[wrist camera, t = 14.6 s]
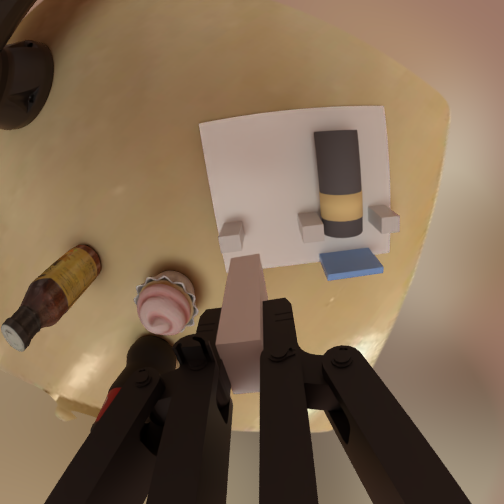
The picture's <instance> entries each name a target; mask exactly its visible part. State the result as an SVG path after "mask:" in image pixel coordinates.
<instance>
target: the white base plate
mask: <svg viewBox="0 0 504 504" xmlns="http://www.w3.org/2000/svg"><path fill="white" fill-rule="evenodd" d="M199 129H200V135H201V141H202V146H203V152H204V158H205V163H206V169H207V175H208V180H209V186H210V191H211V196H212V202H213V207H214V212H215V218H216V223H217V228H218V233H219V236H218V239H219V244H220V249H221V253H223V258H224V263H225V268H226V273H228V271H229V265H230V260H231V258H234V257H240V256H247V255H253V254H260V259H261V264H262V269H264V268H273V267H281V266H289V265H298V264H306V263H314V262H321V265H322V267H323V270H324V272H325V275H326V277H327V280H328V281H329V280H337V279H344V278H351V277H358V276H365V275H372V274H379V273H383V266H382V264H381V263H380V262H379V260H378V259H377V258H376V257H375V255H376V254H383V253H390V233H395V232H399V229H400V216H399V215H398V214H396V213H395V212H394V211H392V210H391V209H390V170H389V153H388V140H387V129H386V119H385V110H384V106H338V107H320V108H306V109H294V110H284V111H275V112H267V113H259V114H252V115H245V116H238V117H232V118H226V119H220V120H215V121H209V122H204V123H199ZM332 130H357V132H358V142H359V154H360V168H361V186H362V201H363V232H362V233H361V234H360V235H358V236H355V237H350V238H333V237H329V236H326V235H324V224H323V222H322V218H321V209H320V196H319V179H318V168H317V158H316V149H315V140H314V132H317V131H332Z"/></svg>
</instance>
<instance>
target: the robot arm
mask: <svg viewBox="0 0 504 504" xmlns="http://www.w3.org/2000/svg"><path fill="white" fill-rule="evenodd" d="M36 1H37V0H0V129H4V130H12V129H19V128H22V127H24V126H26V125H28V124H29V123H30V122H31V121H32V120H33V119H34V118H35V117H36V116H37V115H38V113H39V112H40V110H41V109H42V107H43V105H44V103H45V101H46V99H47V96H48V94H49V91H50V88H51V84H52V79H53V59H52V55H51V52H50V50H49V49H48V47H47V46H46V45H44V44H43V43H41V42H36V41H32V40H26V41H21V42H17V43H13V44H9V45H6V44H7V42H8V40H9V39H10V37H11V36H12V34H13V33H14V31H15V30H16V28H17V27H18V25H19V24H20V22H21V21H22V19H23V18H24V17H25V15H26V14H27V12H28V11H29V10H30V8H31V7H32V6H33V5H34V3H35V2H36ZM5 45H6V46H5ZM196 332H197V333H196V334H192V335H187V336H185V337H183V338H181V339H179V340H178V341H177V342H176V343H175V344H174V346H173V348H172V349H173V351H174V353H175V355H176V357H177V359H178V361H179V363H180V367H179V368H178V369H175V370H173V371H170V372H166V373H163V374H159V372H158V371H157V370H156V369H154V368H152V367H145V368H141V369H138V370H137V371H135V372H133V373H132V374H131V375H130V376H129V378H128V379H127V381H126V382H125V383H124V385H123V386H122V388H121V389H120V391H119V392H118V394H117V395H116V396H115V398H114V399H113V401H112V402H111V404H110V405H109V406H108V408H107V409H106V411H105V412H104V414H103V415H102V417H101V418H100V420H99V421H98V423H97V424H96V425H95V427H94V428H93V430H92V431H91V433H90V434H89V436H88V437H87V439H86V440H85V442H84V443H83V445H82V446H81V448H80V449H79V451H78V452H77V454H76V455H75V457H74V458H73V460H72V461H71V463H70V464H69V466H68V467H67V469H66V471H65V472H64V474H63V475H62V477H61V478H60V480H59V481H58V483H57V484H56V486H55V488H54V489H53V491H52V492H51V494H50V495H49V497H48V498H47V500H46V502H45V503H44V504H143V503H144V501H145V499H146V497H147V495H148V498H147V502H146V504H226V495H227V481H228V466H229V452H230V438H231V425H232V411H233V403H232V399H231V397H230V390H231V388H232V391H233V394H242V393H253V392H260V468H259V471H260V473H259V504H318V496H317V486H316V477H315V468H314V459H313V451H312V442H311V434H310V426H309V418H308V411H307V408H308V409H317V410H324V412H325V414H326V416H327V417H328V419H329V421H330V423H331V425H332V427H333V429H334V431H335V433H336V435H337V436H338V438H339V440H340V442H341V444H342V446H343V448H344V450H345V452H346V454H347V455H348V457H349V459H350V461H351V463H352V465H353V467H354V468H355V471H356V472H357V474H358V476H359V478H360V480H361V482H362V484H363V485H364V487H365V489H366V491H367V493H368V495H369V497H370V499H371V501H372V502H373V504H471V503H470V501H469V499H468V498H467V497H466V495H465V494H464V492H463V491H462V490H461V488H460V486H459V485H458V484H457V482H456V481H455V479H454V478H453V477H452V475H451V474H450V473H449V471H448V470H447V468H446V467H445V465H444V464H443V463H442V461H441V460H440V458H439V457H438V455H437V454H436V453H435V451H434V450H433V449H432V447H431V446H430V445H429V443H428V442H427V440H426V439H425V438H424V436H423V435H422V433H421V432H420V431H419V429H418V428H417V427H416V425H415V424H414V423H413V421H412V420H411V419H410V417H409V416H408V415H407V414H406V412H405V411H404V409H403V408H402V407H401V405H400V404H399V403H398V401H397V400H396V399H395V397H394V396H393V395H392V393H391V392H390V391H389V389H388V388H387V387H386V386H385V384H384V383H383V381H382V380H381V379H380V377H379V376H378V375H377V374H376V372H375V371H374V370H373V368H372V367H371V366H370V364H369V363H368V362H367V360H366V359H365V358H364V357H363V355H362V354H361V353H360V352H359V351H358V350H357V349H356V348H353V347H351V346H342V345H341V346H336V347H333V348H331V349H329V350H327V352H326V353H325V354H324V355H314V354H309V353H307V352H305V351H303V350H302V349H301V348H300V347H299V345H298V343H297V337H296V330H295V324H294V318H293V312H292V306H291V303H290V302H289V301H288V300H287V299H286V298H280V299H274V300H268V295H267V290H266V285H265V280H264V274H263V269H262V264H261V259H260V254H253V255H247V256H240V257H234V258H231V260H230V265H229V271H228V276H227V282H226V287H225V293H224V298H223V304H222V308H215V309H207V310H206V311H205V312H204V313H203V314H202V315H201V316H200V319H199V323H198V327H197V331H196Z"/></svg>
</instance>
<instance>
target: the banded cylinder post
mask: <svg viewBox="0 0 504 504" xmlns="http://www.w3.org/2000/svg"><path fill="white" fill-rule="evenodd" d="M314 140H315V149H316V158H317V168H318V179H319V196H320V209H321V218H322V222H323V224H324V235H326V236H329V237H333V238H350V237H355V236H358V235H360V234H361V233H362V232H363V201H362V186H361V168H360V154H359V142H358V132H357V130H332V131H317V132H314Z"/></svg>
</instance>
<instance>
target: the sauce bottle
mask: <svg viewBox="0 0 504 504" xmlns="http://www.w3.org/2000/svg"><path fill="white" fill-rule="evenodd" d="M100 269H101V264H100V259H99V257H98V255H97V253H96V252H95V251H94V250H93V249H91V248H90V247H88V246H86V245H78V246H76V247H74V248H72V249H70V250H69V251H68V252H67V253H65V254H64V255H63V256H62V257H61V258H59V259H58V260H57V261H56V262H54V263H53V264H52V265H51V266H50V267H49V268H48V269H46V270H45V271H44V272H43V273H42V274H41V275H40V276H38V278H36V279H35V280H34V281H33V282H32V283H31V284H30V286H29V288H28V290H27V292H26V294H25V297H24V299H23V301H22V304H21V306H20V307H19V309H18V310H17V311H16V312H15V313H14V314H13V315H12V317H11V318H8V319H6V321H5V322H4V323H3V324H2V327H1V331H2V333H3V335H4V337H5V339H6V340H7V342H8V343H9V344H10V345H11V346H12V347H13V348H14V349H16V350H18V351H21V352H22V351H24V350H25V349H26V348H27V347H28V346H29V344H30V342H31V339H32V338H33V337H34V336H35V334H36V333H37V332H39V331H40V329H41V328H43V327H49V326H52V325H54V324H56V323H57V322H58V321H59V319H60V318H61V317H62V316H63V315H64V314H65V313H66V312H67V311H68V310H69V309H70V307H71V306H72V305H73V304H74V303H75V302H76V301H77V299H78V298H79V297H80V296H81V295H82V294H83V292H84V291H85V290H86V289H87V288H88V287H89V286H90V285H91V283H92V282H93V281H94V280H95V279H96V277H97V275H98V274H99V273H100Z"/></svg>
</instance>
